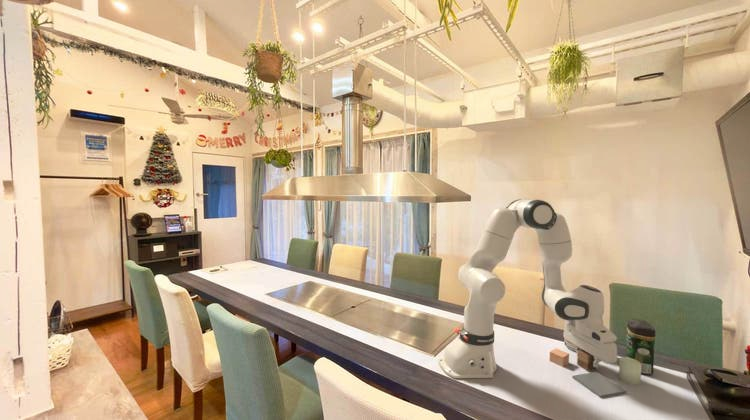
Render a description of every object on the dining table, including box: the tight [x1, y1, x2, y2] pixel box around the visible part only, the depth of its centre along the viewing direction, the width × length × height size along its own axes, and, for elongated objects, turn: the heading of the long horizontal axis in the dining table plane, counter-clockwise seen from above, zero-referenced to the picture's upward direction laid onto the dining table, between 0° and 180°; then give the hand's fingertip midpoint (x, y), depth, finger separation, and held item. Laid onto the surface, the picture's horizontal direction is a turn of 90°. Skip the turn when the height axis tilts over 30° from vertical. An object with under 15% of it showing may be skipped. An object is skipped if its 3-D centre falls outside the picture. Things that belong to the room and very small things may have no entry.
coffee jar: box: [625, 318, 656, 375], centre depth 117 cm, size 10×8×19 cm
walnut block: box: [576, 350, 598, 372], centre depth 119 cm, size 4×4×6 cm
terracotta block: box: [549, 347, 570, 368], centre depth 122 cm, size 5×5×4 cm
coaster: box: [572, 371, 627, 398], centre depth 108 cm, size 11×11×1 cm
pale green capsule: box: [618, 356, 642, 386], centre depth 111 cm, size 6×6×7 cm
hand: (587, 361), depth 119 cm, fingers open, 5 cm apart
